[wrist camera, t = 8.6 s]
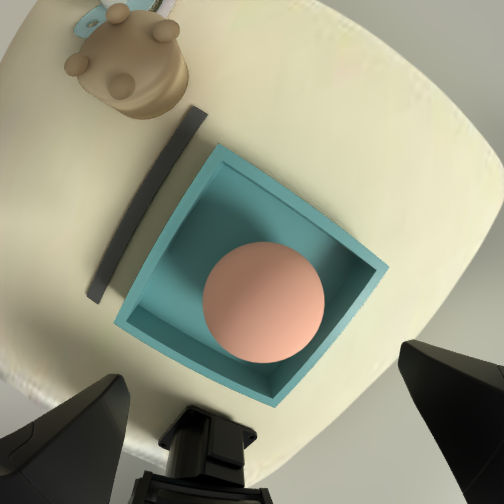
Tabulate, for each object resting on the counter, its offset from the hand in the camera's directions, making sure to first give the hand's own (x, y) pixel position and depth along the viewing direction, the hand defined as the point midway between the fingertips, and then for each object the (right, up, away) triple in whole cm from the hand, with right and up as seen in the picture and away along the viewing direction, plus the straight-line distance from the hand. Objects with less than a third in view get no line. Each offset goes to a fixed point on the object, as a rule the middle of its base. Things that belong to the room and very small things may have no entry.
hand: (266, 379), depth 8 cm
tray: (-1, +2, +10) cm, 10 cm away
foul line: (-7, +6, +8) cm, 13 cm away
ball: (0, +1, +6) cm, 6 cm away
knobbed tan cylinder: (-7, +14, +7) cm, 17 cm away
